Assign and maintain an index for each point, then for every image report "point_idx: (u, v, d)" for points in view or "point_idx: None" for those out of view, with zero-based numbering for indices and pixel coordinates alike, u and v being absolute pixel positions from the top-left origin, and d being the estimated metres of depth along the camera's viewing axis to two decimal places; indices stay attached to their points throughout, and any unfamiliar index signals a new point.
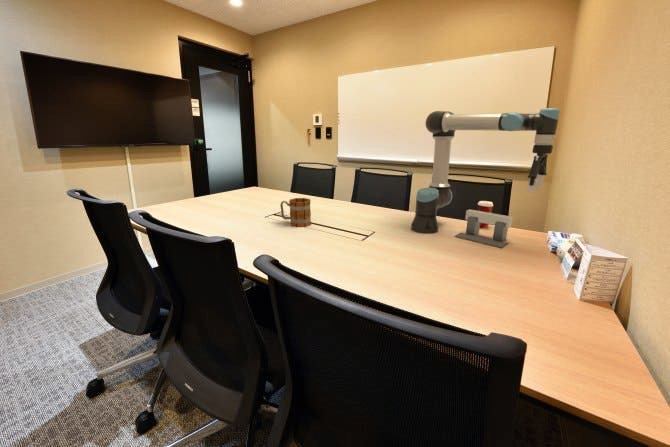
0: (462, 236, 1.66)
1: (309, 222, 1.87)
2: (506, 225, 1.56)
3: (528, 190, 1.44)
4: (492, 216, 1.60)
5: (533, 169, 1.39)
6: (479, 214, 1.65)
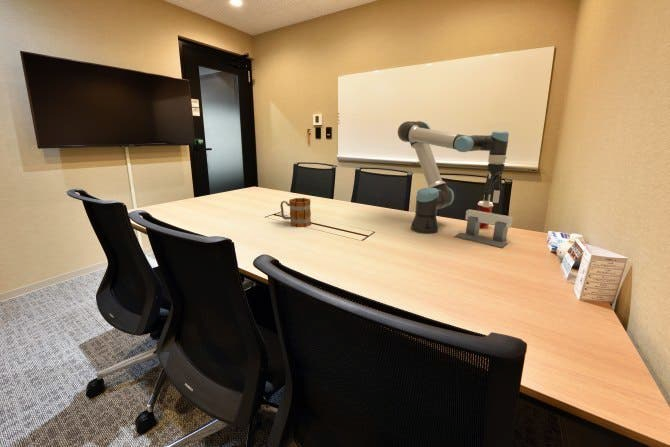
0: (462, 236, 1.66)
1: (309, 222, 1.87)
2: (506, 225, 1.56)
3: (483, 205, 1.57)
4: (492, 216, 1.60)
5: (486, 186, 1.53)
6: (479, 214, 1.65)
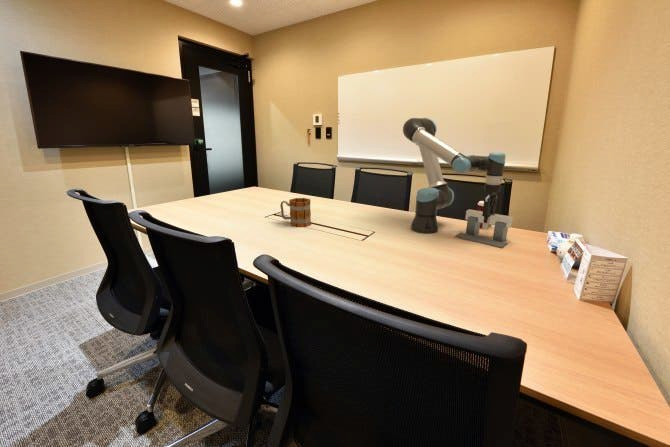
0: (462, 236, 1.66)
1: (309, 222, 1.87)
2: (506, 225, 1.56)
3: (483, 226, 1.64)
4: (492, 216, 1.60)
5: (485, 209, 1.58)
6: (479, 214, 1.65)
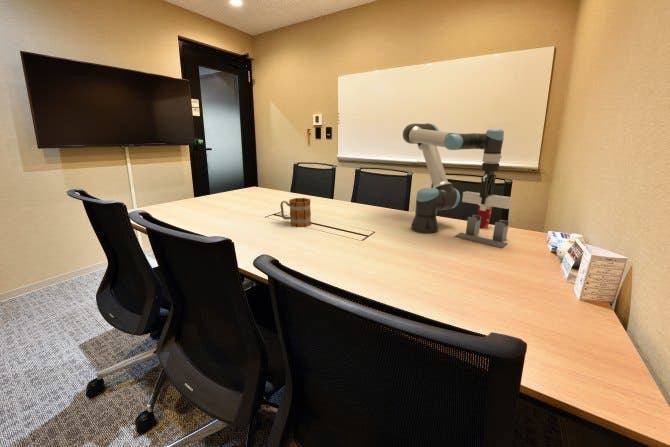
0: (462, 236, 1.66)
1: (309, 222, 1.87)
2: (505, 206, 1.48)
3: (480, 208, 1.56)
4: (490, 197, 1.52)
5: (482, 190, 1.50)
6: (476, 195, 1.56)
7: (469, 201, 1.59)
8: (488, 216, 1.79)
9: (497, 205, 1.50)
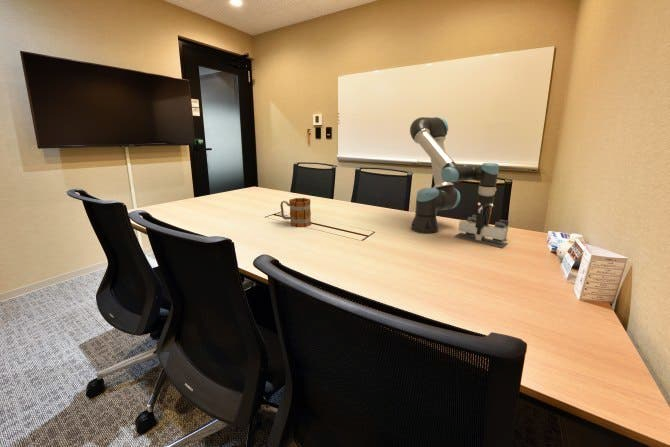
0: (462, 236, 1.66)
1: (309, 222, 1.87)
2: (500, 237, 1.53)
3: (476, 238, 1.60)
4: (485, 228, 1.57)
5: (478, 221, 1.55)
6: (472, 225, 1.61)
7: (465, 230, 1.64)
8: None
9: (492, 236, 1.55)
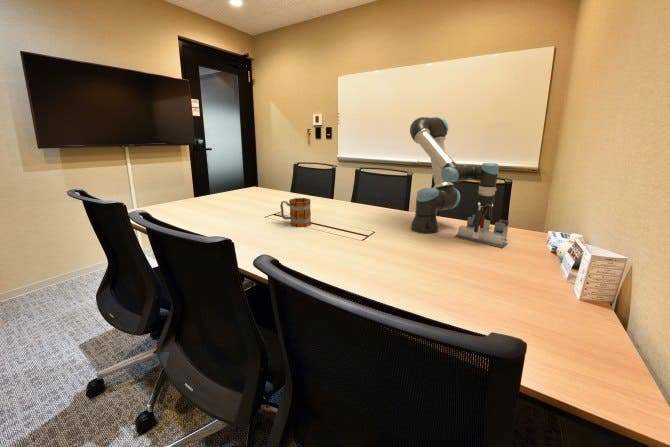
0: None
1: (309, 222, 1.87)
2: (499, 243, 1.53)
3: (473, 236, 1.57)
4: (485, 233, 1.57)
5: (476, 218, 1.52)
6: (472, 230, 1.62)
7: (464, 235, 1.65)
8: None
9: (491, 241, 1.56)
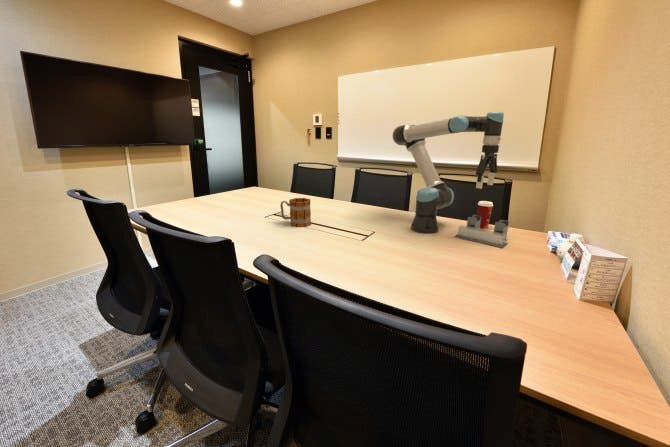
0: None
1: (309, 222, 1.87)
2: (499, 243, 1.53)
3: (477, 186, 1.58)
4: (485, 233, 1.57)
5: (480, 167, 1.53)
6: (472, 230, 1.62)
7: (464, 235, 1.65)
8: (488, 216, 1.79)
9: (491, 241, 1.56)
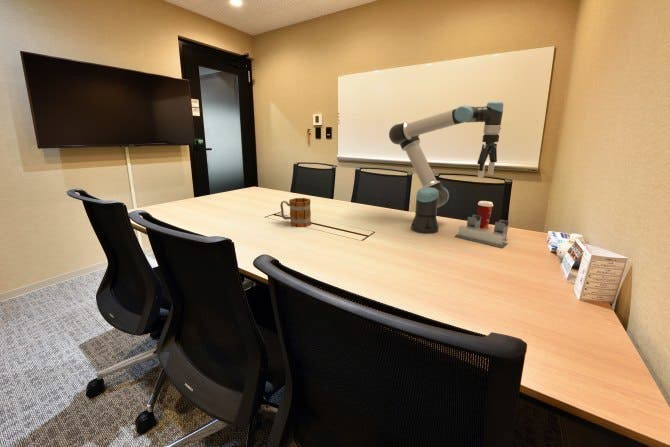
0: None
1: (309, 222, 1.87)
2: (499, 243, 1.53)
3: (478, 175, 1.61)
4: (485, 233, 1.57)
5: (481, 156, 1.56)
6: (472, 230, 1.62)
7: (464, 235, 1.65)
8: (488, 216, 1.79)
9: (491, 241, 1.56)
